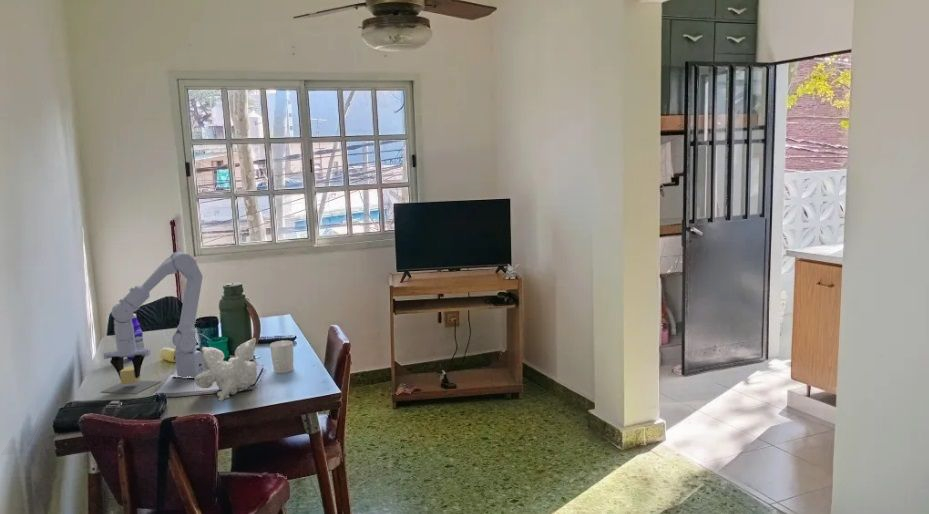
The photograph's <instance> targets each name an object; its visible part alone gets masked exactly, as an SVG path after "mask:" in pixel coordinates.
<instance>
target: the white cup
mask: <svg viewBox="0 0 929 514" xmlns="http://www.w3.org/2000/svg"><path fill="white" fill-rule="evenodd" d="M269 348H270V355H271V361H272V365H273V372H274V373H276V374H285V373H286V374H287V373H291V372H292V371H293V370H294V341H292V340H288V339H287V340H277V341H274V342H271V343H270V344H269Z"/></svg>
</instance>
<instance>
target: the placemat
mask: <svg viewBox="0 0 929 514" xmlns="http://www.w3.org/2000/svg"><path fill="white" fill-rule="evenodd" d="M161 382H162V381H160V380H159V381H158V380H157V381H156V380H138V381H137V382H136V383H131V384H121V382H120V383H117V384H114V385H113V386H111V387H108V388H106V389H103V390H101V391H100V393H106V394H107V393H109V394H127V395H129V394H130V395H137V394H139V393H141V392H143V391H145V390H147V389H150V388H151V387H153V386H155V385H158V384H159V383H161Z"/></svg>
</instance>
